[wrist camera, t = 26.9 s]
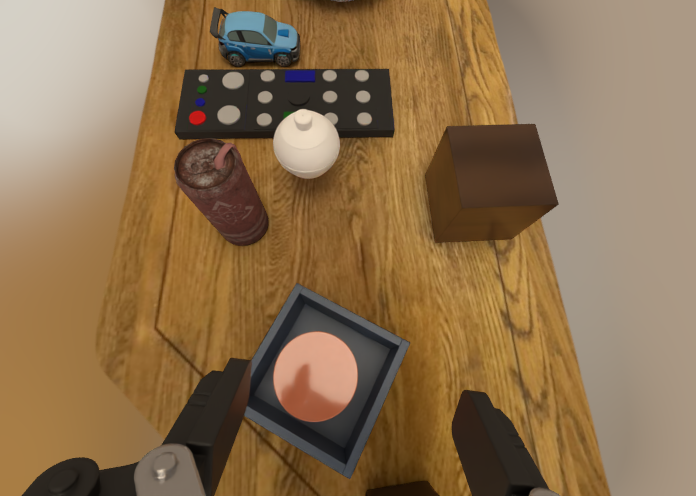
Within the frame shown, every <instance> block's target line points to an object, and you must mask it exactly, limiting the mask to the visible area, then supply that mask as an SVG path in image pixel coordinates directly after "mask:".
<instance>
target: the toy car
mask: <svg viewBox="0 0 696 496" xmlns="http://www.w3.org/2000/svg"><path fill="white" fill-rule="evenodd" d="M221 13H222V15H223V16H224V18H223V19H222V21H221V25H220V30H219V34H218V32H217V31H218V23H219V18H220V14H221ZM224 14H227V16H226V17H225V15H224ZM210 33H211V34H212V35H213V36H214V37H215V38H218V40H219V51H220V52H221V54H222V56H223V57H224V58H225V59H227V53H228V52H229V53H228V60H229V62H230V63H231V64H232V65H234V66H237V67H238V66H239V67H240V66H243V65H244V63H245V59H246V62H274V59H275V60H276V63H277V64H278V65H280V66H283V67H284V66H285V67H286V66H289V65H290V63H291V60H292V61H293V62H296V61H297V60H298V58H299V54H300V36H299V34H298V33H297V31H296V30H295V29H294V28H293V27H292V26H291V25H288V24H284V23H280V22H277V21H275V20H274V19H273V18H271V17H269V16H267V15H265V14H263V13H259V12H246V11H242V12H234V13H230V14H229V13H227V12H225V11H224V10H223V9H218V8H215V7H214V11H213V16H212V21H211V27H210ZM280 57H281V58H280Z"/></svg>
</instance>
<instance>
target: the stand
mask: <svg viewBox="0 0 696 496" xmlns="http://www.w3.org/2000/svg"><path fill="white" fill-rule="evenodd" d="M425 178H426V185H427V191H428V198H429V205H430V211H431V218H432V225H433V231H434V238H435V243H437V242H460V241H483V240H507V239H512V238H514V237H515V236H516V235H518V234H519V233H520V232H522V231H523V230H524V229H526V228H527V227H529V226H530V225H531V224H533V223H534V222H535V221H537V220H538V219H539V218H541V217H542V216H543V215H545V214H546V213H548V212H549V211H550V210H552V209H553V208H554V207H556V206H557V205H558V200H557V197H556V194H555V190H554V187H553V183H552V181H551V176H550V173H549V170H548V166H547V163H546V159H545V156H544V153H543V149H542V146H541V142H540V139H539V135H538V132H537V128H536V125H535V124H513V125H477V126H447V127H446V130H445V132H444V134H443V136H442V139H441V141H440V143H439V145H438V147H437V150H436V152H435V154H434V156H433V159H432V161H431V163H430V165H429V167H428V170H427V172H426V174H425Z"/></svg>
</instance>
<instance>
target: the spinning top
mask: <svg viewBox="0 0 696 496" xmlns="http://www.w3.org/2000/svg"><path fill="white" fill-rule="evenodd" d="M273 146H274V152H275V155H276V157H277V159H278V161H279V163H280V164H281V165H282V166H283V167H284V168H285V169H286V170H287V171H289V172H290V173H292V174H294V175H296V176H298V177H301V178H306V179H311V178H316V177H319V176H321V175H323V174H324V173H325V172H327V171H328V170H329V169H330V168H331V167H332V166H333V164H334V163H335V161H336V159H337V157H338V154H339V149H340V140H339V136H338V133H337V130H336V128H335V127H334V125H333V124H332V123H331V122H330V121H329V120H328V119H327V118H326V117H324V116H323V115H321V114H319V113H316V112H313V111H309V110H306V109H300V110H298V111H296V112H294V113H292V114H290V115H289V116H287V117H286V118H285V119H284V120H283V121H282V122H281V123H280V124H279V126H278V127H277V129H276V132H275V134H274V140H273Z"/></svg>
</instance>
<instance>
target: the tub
mask: <svg viewBox="0 0 696 496" xmlns="http://www.w3.org/2000/svg"><path fill="white" fill-rule="evenodd" d="M312 331H322V332H327V333H330V334H333V335H335V336H337V337H338V338H340V339H341V340H342V341H344V342H345V343H346V344H347V345H348V347H349V348H350V349H351V351H352V353H353V355H354V357H355V359H356V363H357V367H358V383H357V388H356V391H355V394H354V396H353V398H352V400H351V402H350V403H349V404H348V406H347V407H346V408H345V409H344V410H343V411H342V412H341V413H339V414H338V415H336V416H335V417H333V418H331V419H329V420H325V421H321V422H308V421H303V420H300V419H298V418H296V417H294V416H292V415H291V414H290V413H288V412H287V411H286V410H285V409H284V408H283V406H282V405H281V404H280V402H279V400H278V398H277V396H276V393H275V390H274V385H273V371H274V366H275V363H276V360H277V358H278V356H279V354H280V352H281V351H282V349H283V348H284V347H285V346H286V344H288V343H289V342H290V341H291V340H292V339H294V338H295V337H297V336H299V335H301V334H304V333H307V332H312ZM409 344H410V342H408V341H406V340H404V339H402V338H400V337H398V336H396V335H394V334H393V333H391V332H389V331H387V330H385V329H383V328H381V327H379V326H377V325H375V324H374V323H372V322H370V321H368V320H366V319H364V318H362V317H360V316H358V315H356V314H355V313H353V312H351V311H349V310H347V309H345V308H343V307H341V306H339V305H337V304H336V303H334V302H332V301H330V300H328V299H326V298H324V297H322V296H320V295H319V294H317V293H315V292H313V291H311V290H309V289H307V288H305V287H303V286H301V285H300V284H298V283H297V284H296V285H295V287H294V289H293V290H292V292H291V294H290V295H289V297H288V299H287V301H286V302H285V304H284V306H283V307H282V309H281V311H280V313H279V314H278V316H277V318H276V319H275V321H274V323H273V324H272V326H271V328H270V330H269V331H268V333H267V335H266V336H265V338H264V340H263V341H262V343H261V345H260V347H259V348H258V350H257V352H256V353H255V355H254V357H253V358H252V360H251V361H252V368H251V380H250V393H249V399H248V404H247V408H246V411H245V414H244V416H246V417H247V418H249V419H251V420H252V421H254V422H256V423H257V424H259V425H261V426H262V427H264V428H266V429H267V430H269V431H271V432H272V433H274V434H276V435H277V436H279V437H281V438H282V439H284V440H286V441H287V442H289V443H291V444H292V445H294V446H296V447H297V448H299V449H300V450H302V451H304V452H305V453H307V454H309V455H310V456H312V457H314V458H315V459H317V460H319V461H320V462H322V463H324V464H325V465H327V466H329V467H330V468H332V469H334V470H335V471H337V472H339V473H340V474H342V475H344V476H345V477H347V478H349V479H350V478H351V476H352V474H353V471H354V469H355V467H356V465H357V462H358V460H359V458H360V455H361V453H362V451H363V449H364V446H365V444H366V442H367V440H368V437H369V435H370V433H371V431H372V428H373V426H374V424H375V421H376V419H377V417H378V415H379V412H380V410H381V408H382V406H383V403H384V401H385V399H386V396H387V394H388V392H389V390H390V387H391V385H392V383H393V381H394V378H395V376H396V374H397V371H398V369H399V367H400V365H401V362H402V360H403V358H404V356H405V353H406V351H407V349H408V346H409Z"/></svg>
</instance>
